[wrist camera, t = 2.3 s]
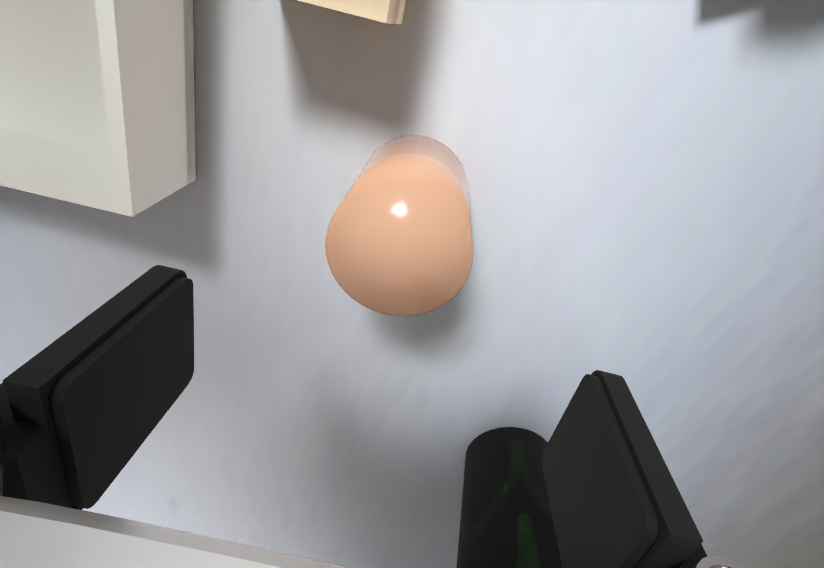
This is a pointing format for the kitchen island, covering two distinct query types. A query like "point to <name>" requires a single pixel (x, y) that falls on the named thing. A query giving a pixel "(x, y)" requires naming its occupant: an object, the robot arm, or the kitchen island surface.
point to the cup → (506, 504)
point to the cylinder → (403, 229)
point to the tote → (97, 100)
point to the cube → (367, 8)
